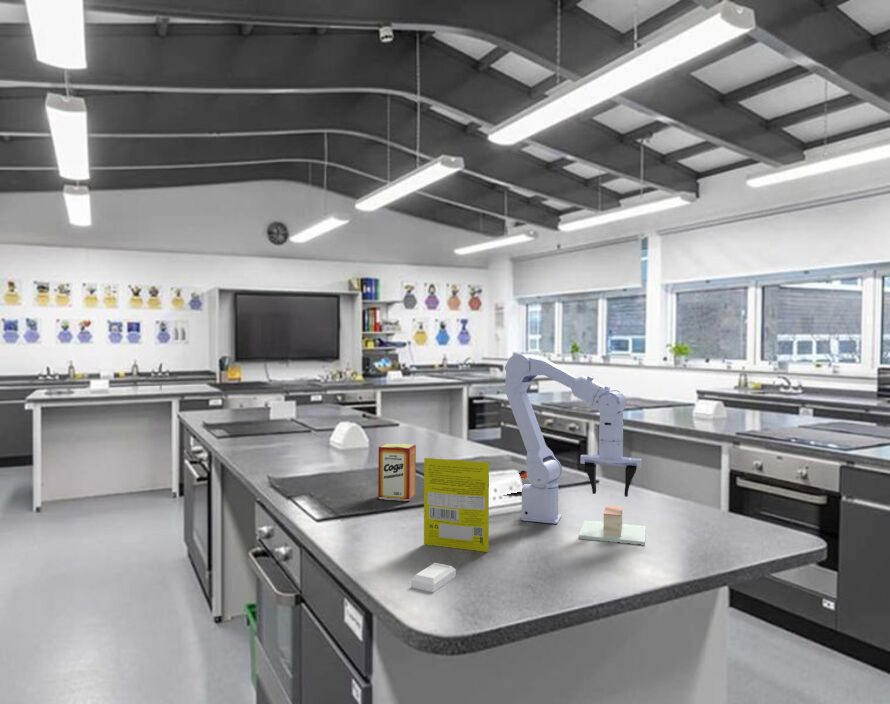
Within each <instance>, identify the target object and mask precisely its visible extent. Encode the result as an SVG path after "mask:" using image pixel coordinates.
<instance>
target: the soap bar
mask: <svg viewBox="0 0 890 704" xmlns="http://www.w3.org/2000/svg"><path fill="white" fill-rule="evenodd" d="M455 578H457V569H456V568H454V566H452V565H448V564H443V563H437V562H433V563H431V564H430V565H429V566H427V567H425V568H424V569H422V570H421V571H419V572H417V573H416V574H415V575H414V576H413V577H412V578H411V579H410V587H411V588H413V589H417V590H422V591H427V592H430V593H434V592H436V591H438V590H439V589H440V588H442V587H444V586H445V585H446V584H448V583H449V582H450V581H452V580H453V579H455Z"/></svg>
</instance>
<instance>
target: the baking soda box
mask: <svg viewBox="0 0 890 704" xmlns="http://www.w3.org/2000/svg"><path fill="white" fill-rule="evenodd" d="M416 450H417V444H409V443H384V444H381V445H380V446H378V462H377V463H378V464H377V466H378V474H377V475H378V477H377V478H378V481H377V483H378V484H377V485H378V486H377V488H378V493H377V496H378V497H387V498H400V499H410V498H411V497H412V496H414V495H415V494H416V492H417V491H416V485H417V484H416V482H417V481H416V479H417V478H416V477H417V476H416V475H417V474H416V473H417V471H416V468H417V466H416V465H417V464H416V463H417V462H416V461H417V454H416V453H417V451H416ZM378 497H377V498H378Z"/></svg>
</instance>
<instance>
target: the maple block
mask: <svg viewBox="0 0 890 704" xmlns="http://www.w3.org/2000/svg"><path fill="white" fill-rule="evenodd" d="M603 522H604V530H603V535H613V536H621V532H622V524H623V506H620V505H619V506H618V505H617V506H616V505H605V507H604V512H603Z"/></svg>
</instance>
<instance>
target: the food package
mask: <svg viewBox="0 0 890 704" xmlns="http://www.w3.org/2000/svg"><path fill="white" fill-rule="evenodd" d="M423 463H424V464H423V465H424V466H423V467H424V468H423V489H424V490H423V545H424V544H427V545H426V546H432V545H435V546H434V547H441V546H443V547H444V548H449V547H451V549H458V548H459V549H460V550H466V549H467V550H466V551H474V550H475V551H476V552H482V553H483V552H484V553H489V546H490V545H489V535H490V534H489V533H490V532H489V531H490V529H489V525H490V524H489V523H490V521H489V520H490V519H489V518H490V517H489V516H490V515H489V514H490V513H489V512H490V510H489V509H490V508H489V507H490V498H489V497H490V495H489V494H490V488H489V474H490V463H489V462H488V461H487V462H486V461H475V460H472V461H471V460H462V459H461V460H459V459H447V458H445V459H444V458H431V457H424V461H423ZM443 547H442V548H443Z"/></svg>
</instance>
